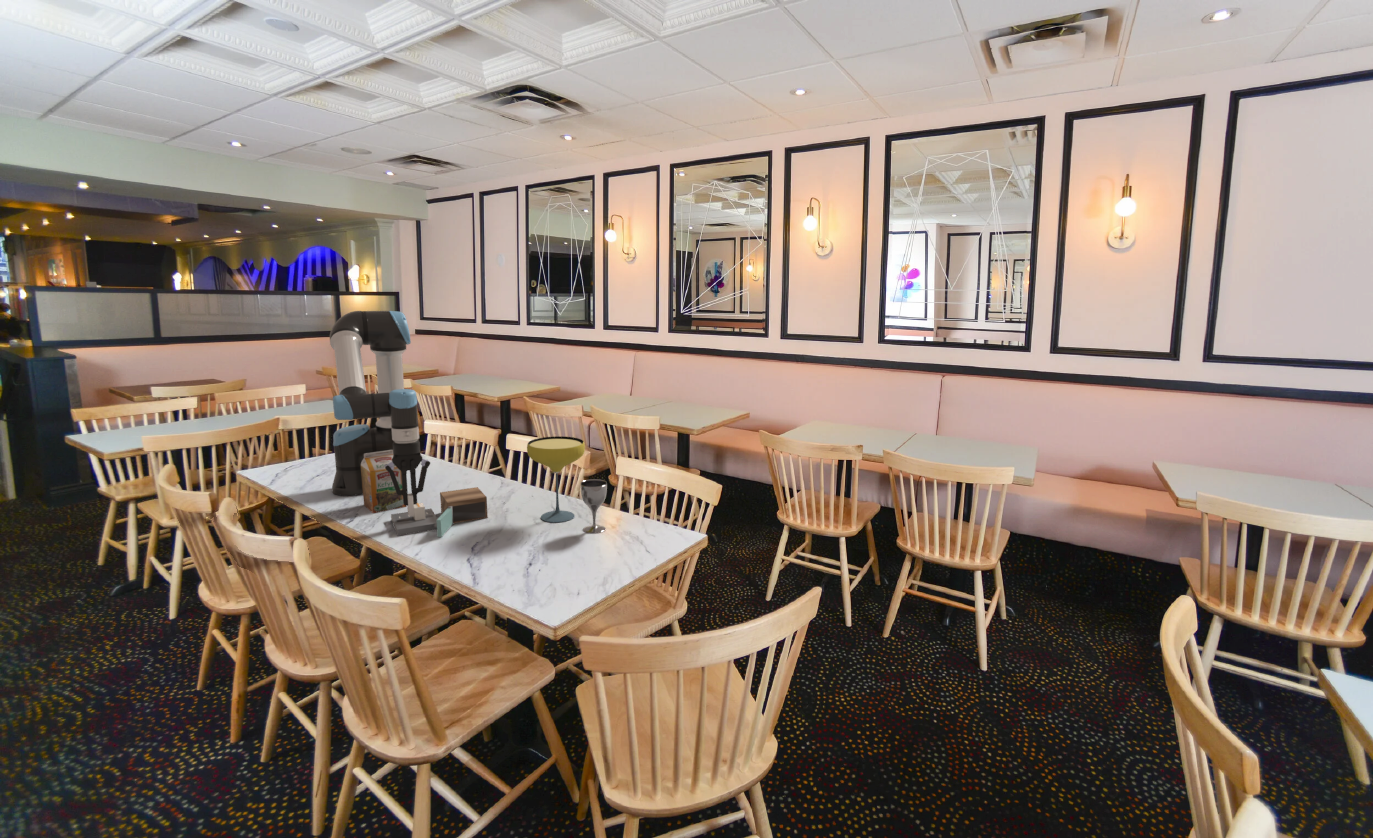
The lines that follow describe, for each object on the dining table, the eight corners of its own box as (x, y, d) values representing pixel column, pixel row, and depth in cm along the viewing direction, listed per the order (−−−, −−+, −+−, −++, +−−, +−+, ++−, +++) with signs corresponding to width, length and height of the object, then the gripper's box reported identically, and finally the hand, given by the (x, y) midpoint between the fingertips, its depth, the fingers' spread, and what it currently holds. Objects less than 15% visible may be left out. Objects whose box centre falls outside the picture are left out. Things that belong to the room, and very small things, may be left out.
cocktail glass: (596, 513, 209) (595, 440, 204) (564, 530, 193) (562, 451, 188) (552, 504, 217) (550, 434, 212) (517, 521, 200) (514, 444, 196)
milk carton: (373, 513, 205) (368, 457, 201) (364, 505, 213) (359, 450, 209) (406, 506, 212) (402, 452, 208) (396, 498, 220) (392, 446, 216)
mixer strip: (391, 520, 199) (390, 514, 198) (431, 514, 205) (431, 508, 205) (397, 536, 186) (397, 529, 186) (440, 528, 193) (440, 522, 192)
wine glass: (611, 526, 197) (611, 480, 194) (600, 535, 190) (599, 488, 187) (588, 523, 199) (588, 478, 197) (576, 532, 192) (575, 485, 189)
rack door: (453, 523, 197) (452, 506, 196) (442, 537, 185) (440, 519, 184) (445, 523, 197) (444, 506, 196) (433, 537, 185) (432, 519, 184)
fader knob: (412, 516, 197) (411, 503, 196) (423, 514, 198) (422, 502, 198) (415, 520, 193) (414, 507, 192) (425, 518, 195) (424, 506, 194)
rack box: (441, 512, 207) (440, 492, 205) (478, 506, 213) (477, 487, 211) (448, 524, 197) (447, 502, 195) (487, 517, 203) (486, 497, 201)
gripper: (383, 445, 183) (389, 522, 188) (431, 441, 190) (435, 515, 195) (380, 440, 190) (386, 514, 194) (426, 436, 196) (431, 507, 201)
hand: (411, 514), depth 194 cm, fingers closed
